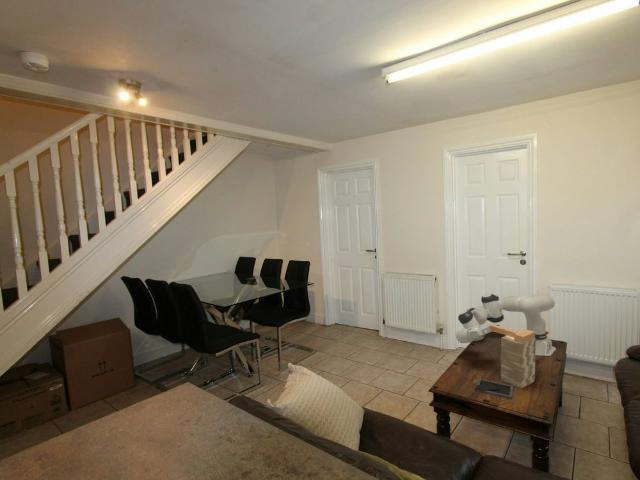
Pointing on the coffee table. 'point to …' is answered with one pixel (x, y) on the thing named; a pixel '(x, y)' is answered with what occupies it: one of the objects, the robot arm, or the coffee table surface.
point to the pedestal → (517, 362)
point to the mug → (536, 366)
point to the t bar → (514, 333)
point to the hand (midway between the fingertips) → (495, 327)
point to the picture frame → (494, 388)
